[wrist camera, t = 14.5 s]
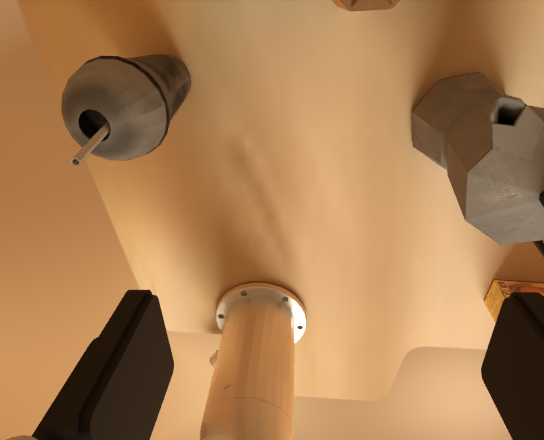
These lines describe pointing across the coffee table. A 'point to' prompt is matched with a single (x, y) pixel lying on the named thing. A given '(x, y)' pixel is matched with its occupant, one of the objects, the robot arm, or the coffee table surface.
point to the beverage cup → (123, 104)
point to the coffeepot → (487, 155)
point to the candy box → (507, 293)
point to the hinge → (365, 4)
